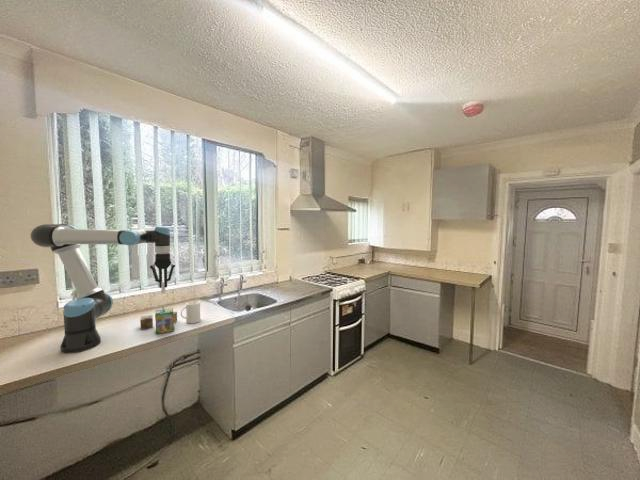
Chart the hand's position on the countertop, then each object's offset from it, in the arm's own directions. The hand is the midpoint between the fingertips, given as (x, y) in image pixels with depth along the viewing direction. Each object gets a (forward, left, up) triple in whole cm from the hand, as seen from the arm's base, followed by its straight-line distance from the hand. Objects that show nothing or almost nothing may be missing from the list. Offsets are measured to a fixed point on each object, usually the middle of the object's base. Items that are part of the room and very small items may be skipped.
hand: (163, 293), depth 152 cm
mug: (+13, +9, -22) cm, 28 cm away
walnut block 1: (-11, +9, -22) cm, 26 cm away
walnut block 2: (+1, +12, -22) cm, 25 cm away
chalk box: (0, 0, -23) cm, 22 cm away
